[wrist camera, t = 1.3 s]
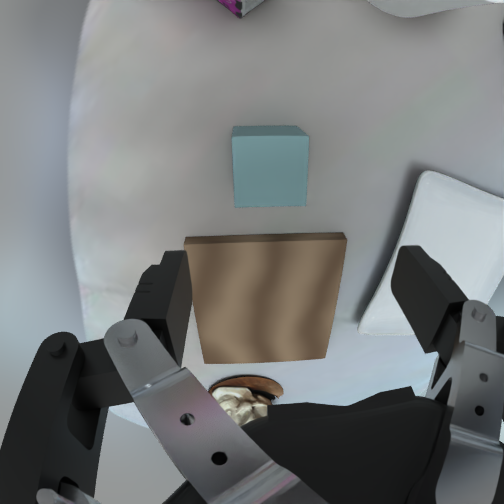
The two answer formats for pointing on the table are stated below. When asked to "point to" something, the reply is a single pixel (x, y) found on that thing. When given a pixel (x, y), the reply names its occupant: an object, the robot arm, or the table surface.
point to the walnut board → (265, 295)
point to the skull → (246, 397)
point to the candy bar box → (240, 6)
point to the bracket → (424, 6)
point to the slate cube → (269, 166)
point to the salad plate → (445, 246)
